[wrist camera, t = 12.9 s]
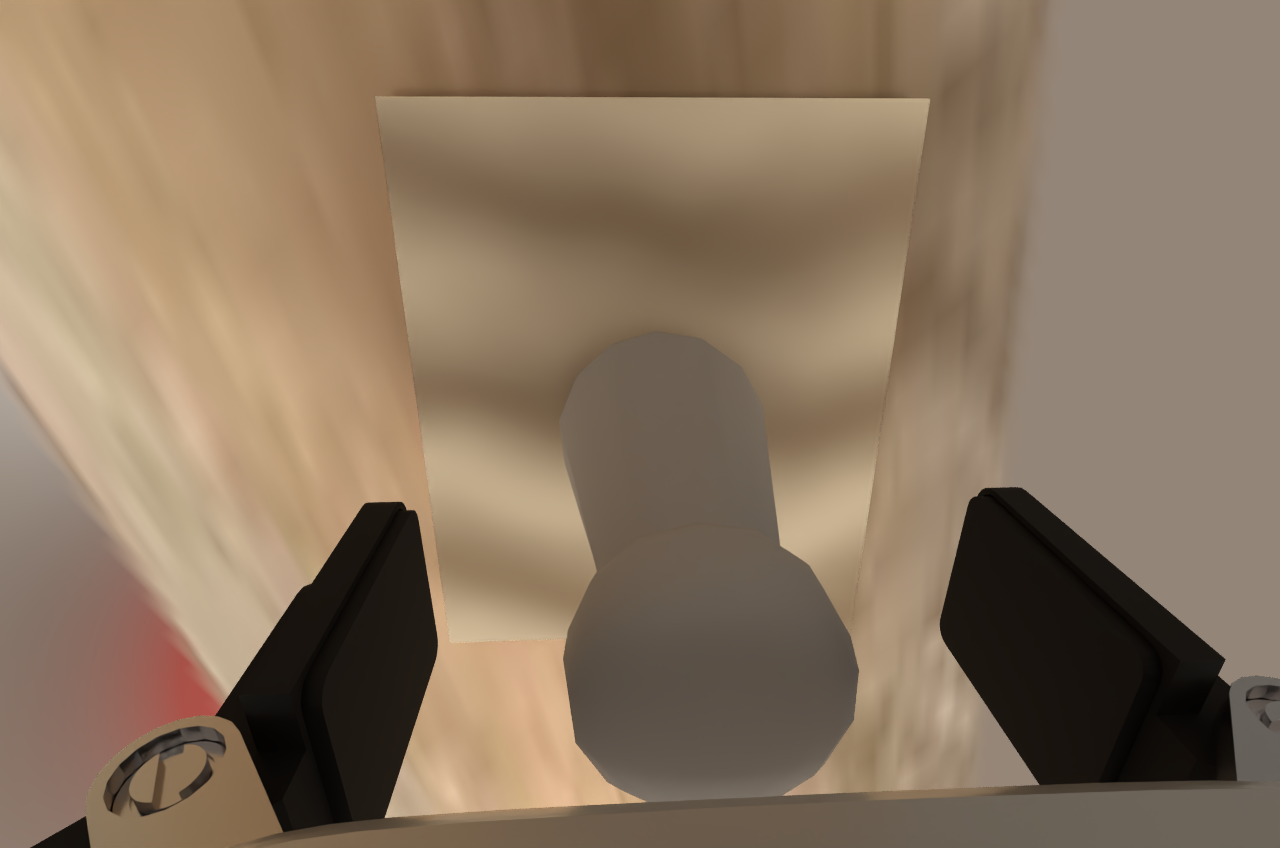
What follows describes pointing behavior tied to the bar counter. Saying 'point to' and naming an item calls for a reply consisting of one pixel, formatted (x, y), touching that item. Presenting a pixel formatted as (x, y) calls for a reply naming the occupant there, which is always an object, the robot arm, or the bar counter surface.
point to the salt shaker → (693, 587)
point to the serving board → (641, 308)
